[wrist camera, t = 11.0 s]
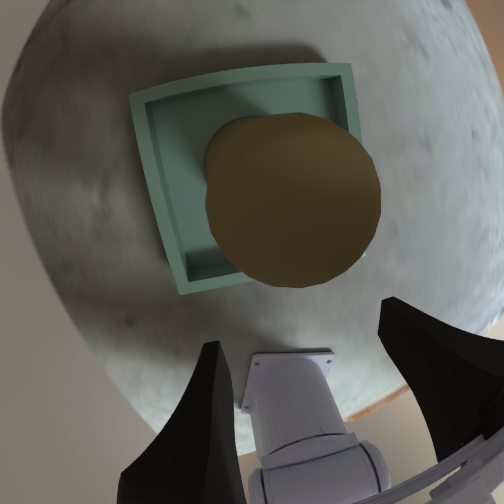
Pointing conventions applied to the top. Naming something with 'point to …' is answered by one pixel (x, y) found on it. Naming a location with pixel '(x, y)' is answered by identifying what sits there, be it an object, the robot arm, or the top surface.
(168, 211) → the tray
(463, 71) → the top surface
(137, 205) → the top surface
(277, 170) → the cork
